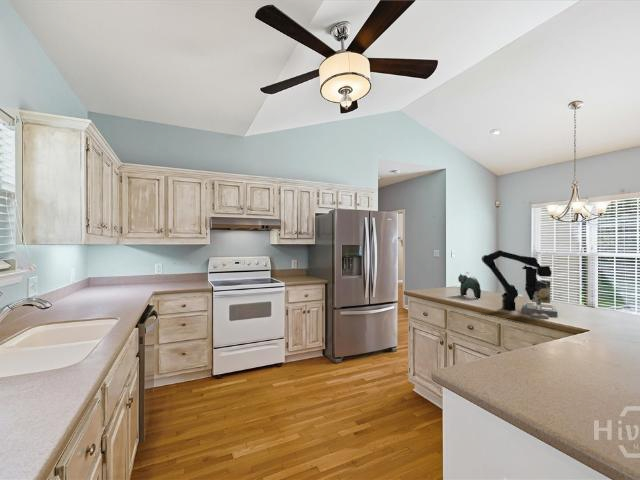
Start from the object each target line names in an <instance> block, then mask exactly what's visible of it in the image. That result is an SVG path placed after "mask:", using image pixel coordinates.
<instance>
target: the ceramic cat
mask: <svg viewBox="0 0 640 480" xmlns="http://www.w3.org/2000/svg"><path fill="white" fill-rule="evenodd" d="M467 274H468V275H470V273H469V272H468V271H466V273H465V274H464V275H463V274H462V273H460V274H459V276H458V279H457V280H458V282H459V283H460V289H459V291H460V294H461V295H467V292H468V290H469V289H470V290H471V291H472V292H473V296H474V298H475V297H476V298H480V299H481V297H482V296H481V295H482V290H481V285H480V284H481V283H480V282H479V281H478V279H477V278H476V277H474V276H470V277H468V275H467ZM461 295H460V296H461Z"/></svg>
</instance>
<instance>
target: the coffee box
mask: <svg viewBox="0 0 640 480" xmlns="http://www.w3.org/2000/svg"><path fill="white" fill-rule="evenodd" d="M537 280H538V279H537ZM538 281H540V280H538ZM544 281H545V283H547V284H548V285H547V287H546V289H544V288H542V287H540V286H537V291H536V292H535V293H534V295H533V300H531V302H536V305H541V303H551V281H549V280H544Z"/></svg>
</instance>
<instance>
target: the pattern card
mask: <svg viewBox="0 0 640 480" xmlns="http://www.w3.org/2000/svg"><path fill="white" fill-rule="evenodd" d="M530 316H531V318H535V317H536V318H537V319H547V320H549V316H548V314H539V313H531V314H530Z"/></svg>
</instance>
